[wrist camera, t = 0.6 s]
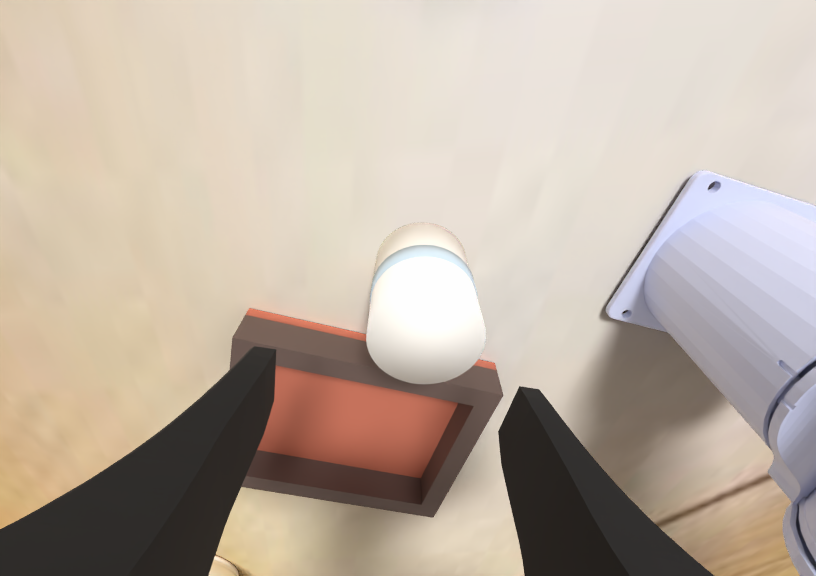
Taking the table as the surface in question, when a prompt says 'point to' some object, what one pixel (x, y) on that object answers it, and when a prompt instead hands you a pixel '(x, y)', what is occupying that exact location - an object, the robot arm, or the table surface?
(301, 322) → the lacquer tray
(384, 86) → the table surface
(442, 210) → the table surface
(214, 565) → the lidded bowl
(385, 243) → the blue-banded white capsule
